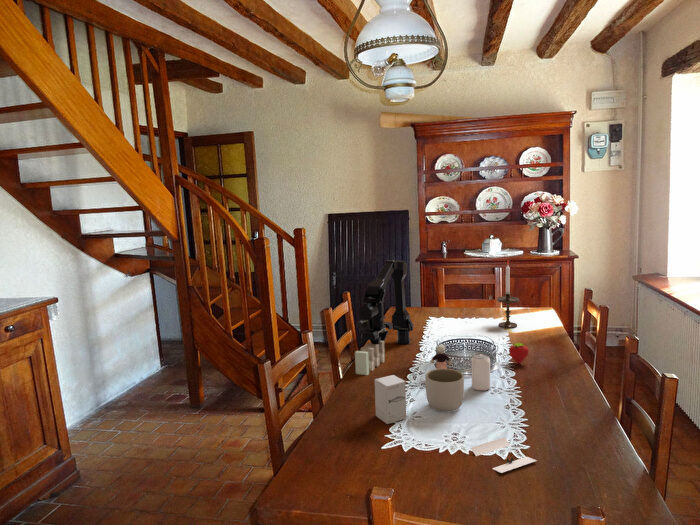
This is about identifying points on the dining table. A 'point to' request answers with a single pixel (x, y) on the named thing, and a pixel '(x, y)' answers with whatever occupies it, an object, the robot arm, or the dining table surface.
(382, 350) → the domino
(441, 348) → the grandmother figurine
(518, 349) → the strawberry
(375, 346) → the domino
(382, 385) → the supplement box
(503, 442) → the pale pink flat slab
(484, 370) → the can
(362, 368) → the sage end domino
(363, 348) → the domino
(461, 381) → the planter
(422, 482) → the dining table surface
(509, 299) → the candlestick
